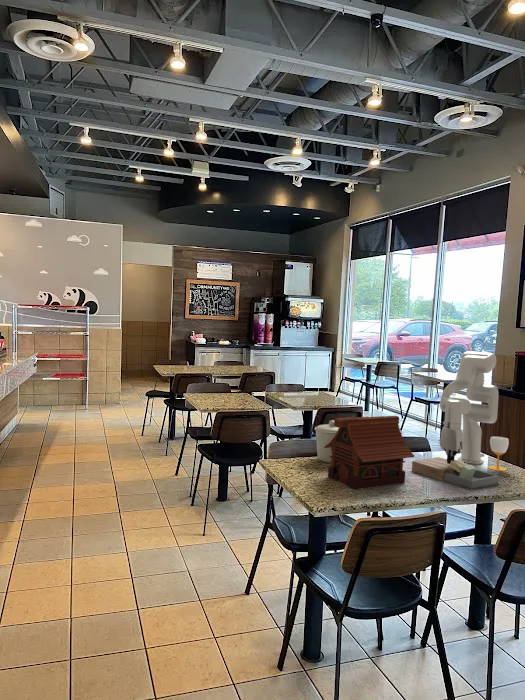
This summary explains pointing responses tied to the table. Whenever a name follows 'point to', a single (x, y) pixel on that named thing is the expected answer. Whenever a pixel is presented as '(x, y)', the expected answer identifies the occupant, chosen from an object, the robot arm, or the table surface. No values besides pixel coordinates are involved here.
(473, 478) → the tray
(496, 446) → the cup
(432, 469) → the tan wooden board
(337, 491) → the table surface
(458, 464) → the maple block
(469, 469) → the sage block
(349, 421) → the house
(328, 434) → the canister
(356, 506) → the table surface
